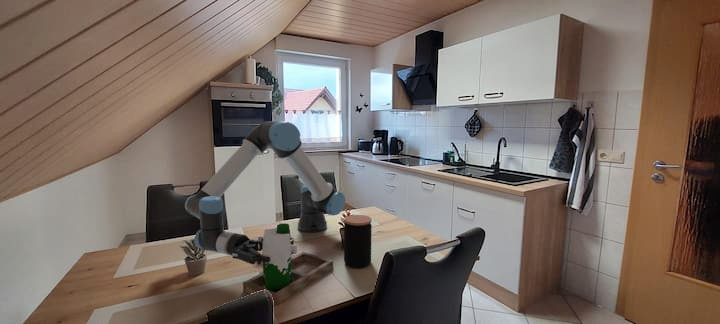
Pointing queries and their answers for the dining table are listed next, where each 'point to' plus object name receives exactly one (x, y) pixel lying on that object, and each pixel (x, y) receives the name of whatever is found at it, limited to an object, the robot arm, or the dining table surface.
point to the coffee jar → (357, 241)
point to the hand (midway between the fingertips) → (288, 255)
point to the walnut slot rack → (292, 277)
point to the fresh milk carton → (280, 245)
